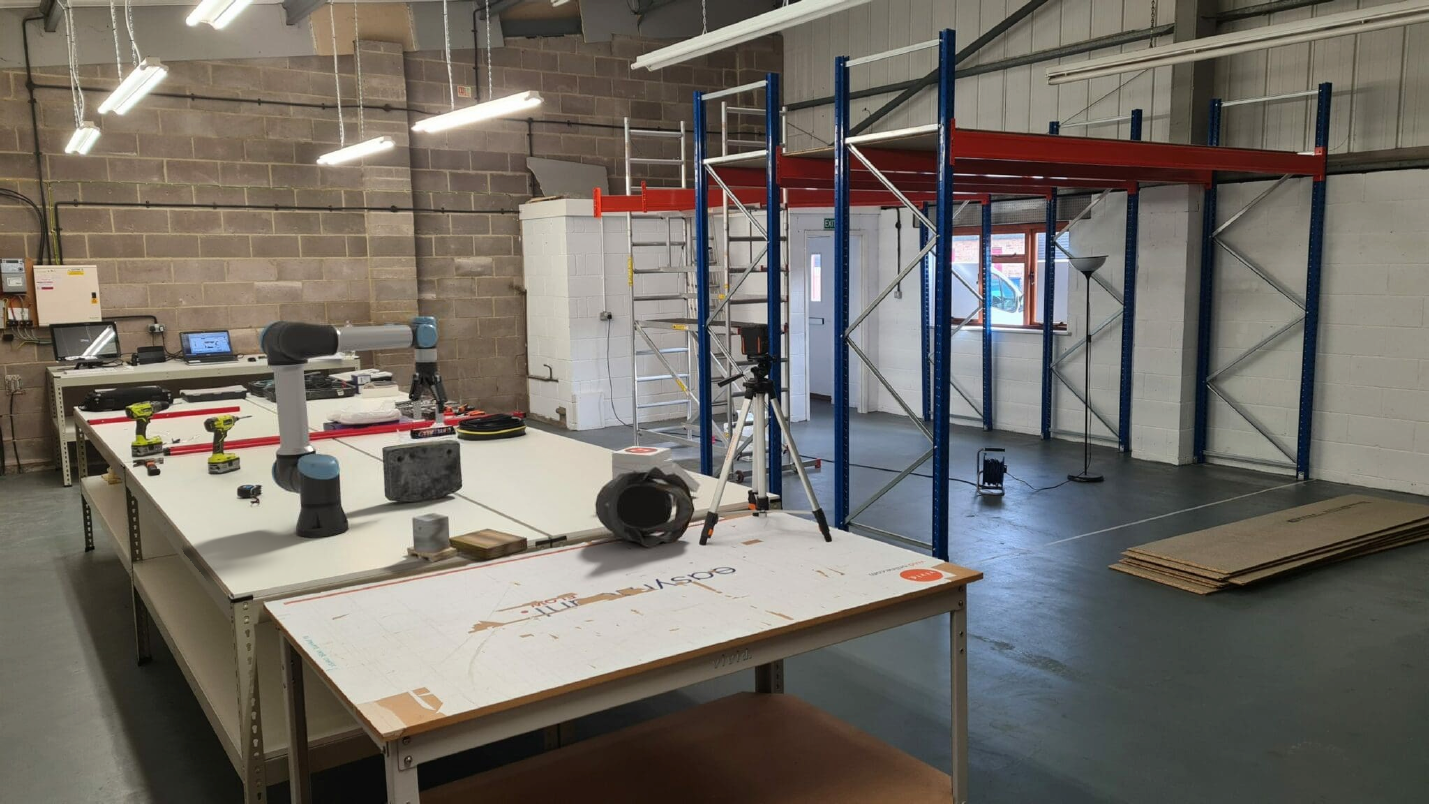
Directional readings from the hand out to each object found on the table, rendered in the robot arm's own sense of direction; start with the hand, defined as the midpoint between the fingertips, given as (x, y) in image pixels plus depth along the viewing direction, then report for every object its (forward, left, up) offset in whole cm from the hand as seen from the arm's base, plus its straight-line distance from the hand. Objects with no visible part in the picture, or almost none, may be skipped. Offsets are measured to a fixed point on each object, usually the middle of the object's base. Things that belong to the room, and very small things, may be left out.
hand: (428, 421), depth 345 cm
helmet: (+5, -97, -28) cm, 101 cm away
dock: (-29, -69, -28) cm, 80 cm away
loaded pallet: (-43, -62, -28) cm, 81 cm away
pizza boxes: (+47, -64, -28) cm, 84 cm away
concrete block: (-3, +1, -28) cm, 28 cm away
